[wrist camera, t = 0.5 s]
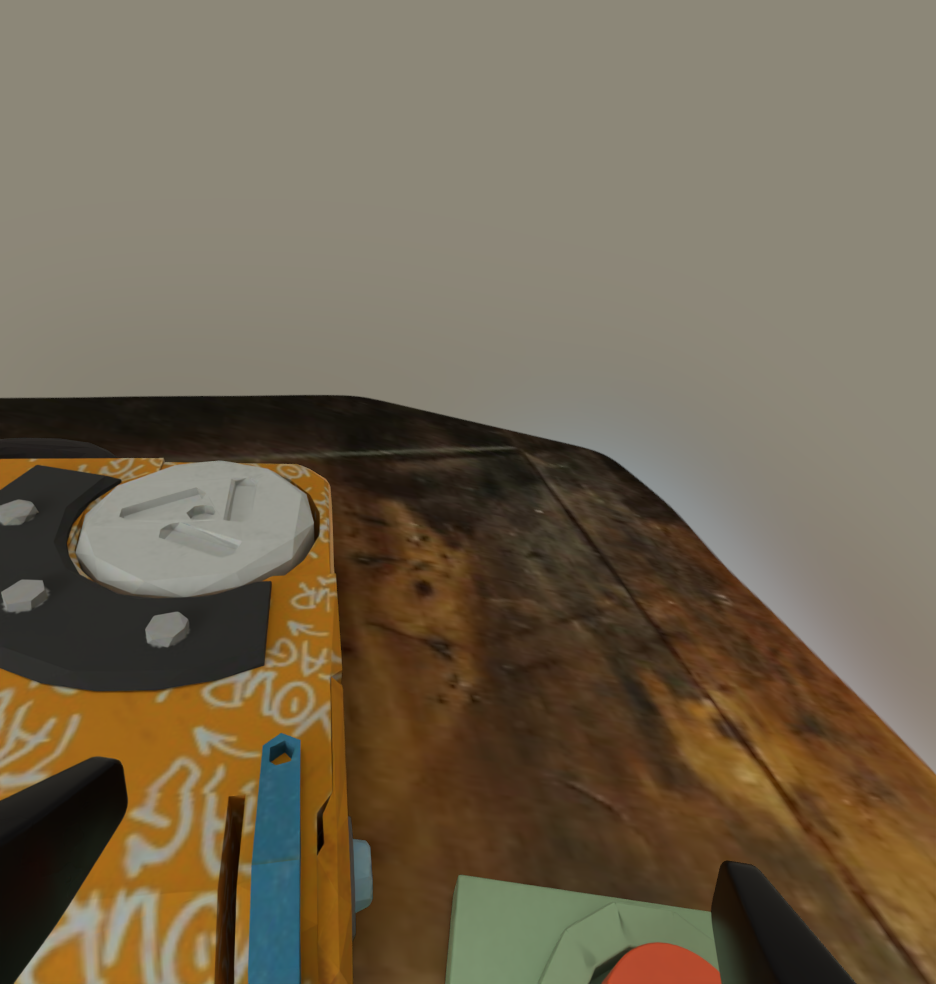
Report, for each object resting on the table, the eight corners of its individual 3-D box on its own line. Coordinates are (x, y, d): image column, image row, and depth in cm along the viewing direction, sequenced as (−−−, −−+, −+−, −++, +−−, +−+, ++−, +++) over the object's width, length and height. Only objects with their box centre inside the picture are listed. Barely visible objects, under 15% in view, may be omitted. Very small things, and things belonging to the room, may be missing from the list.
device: (-1535, 1430, 7) (-87, 380, 30) (-768, 1386, 11) (-31, 504, 35) (390, 983, 12) (342, 392, 36) (376, 1076, 17) (341, 497, 41)
